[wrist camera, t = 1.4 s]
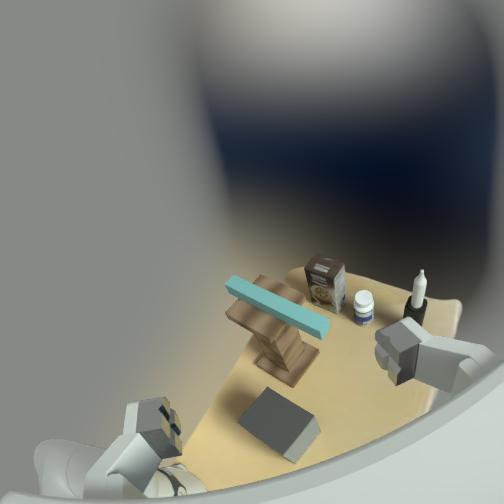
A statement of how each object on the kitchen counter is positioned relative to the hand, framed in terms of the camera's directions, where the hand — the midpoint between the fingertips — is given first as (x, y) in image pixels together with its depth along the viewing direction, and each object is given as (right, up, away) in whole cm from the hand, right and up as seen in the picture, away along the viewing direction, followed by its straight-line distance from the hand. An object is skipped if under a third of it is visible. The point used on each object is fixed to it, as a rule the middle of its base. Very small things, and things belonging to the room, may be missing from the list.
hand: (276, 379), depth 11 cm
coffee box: (+22, -10, +80) cm, 83 cm away
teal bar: (+4, -7, +51) cm, 52 cm away
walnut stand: (+9, -25, +70) cm, 74 cm away
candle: (+42, -17, +64) cm, 78 cm away
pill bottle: (+31, -14, +72) cm, 79 cm away
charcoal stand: (+8, -39, +54) cm, 67 cm away
